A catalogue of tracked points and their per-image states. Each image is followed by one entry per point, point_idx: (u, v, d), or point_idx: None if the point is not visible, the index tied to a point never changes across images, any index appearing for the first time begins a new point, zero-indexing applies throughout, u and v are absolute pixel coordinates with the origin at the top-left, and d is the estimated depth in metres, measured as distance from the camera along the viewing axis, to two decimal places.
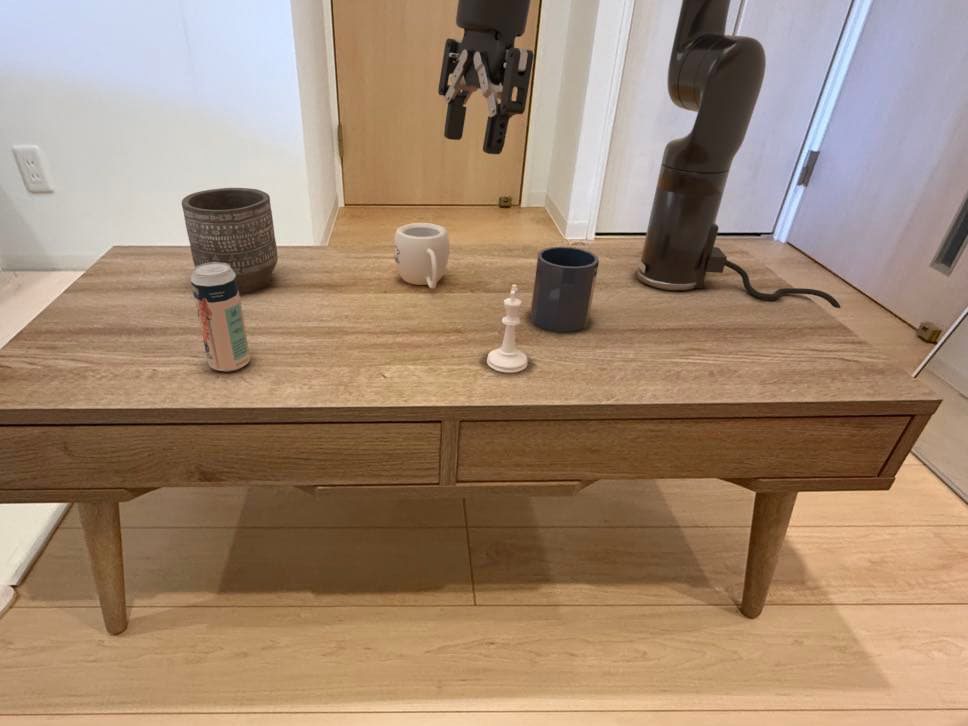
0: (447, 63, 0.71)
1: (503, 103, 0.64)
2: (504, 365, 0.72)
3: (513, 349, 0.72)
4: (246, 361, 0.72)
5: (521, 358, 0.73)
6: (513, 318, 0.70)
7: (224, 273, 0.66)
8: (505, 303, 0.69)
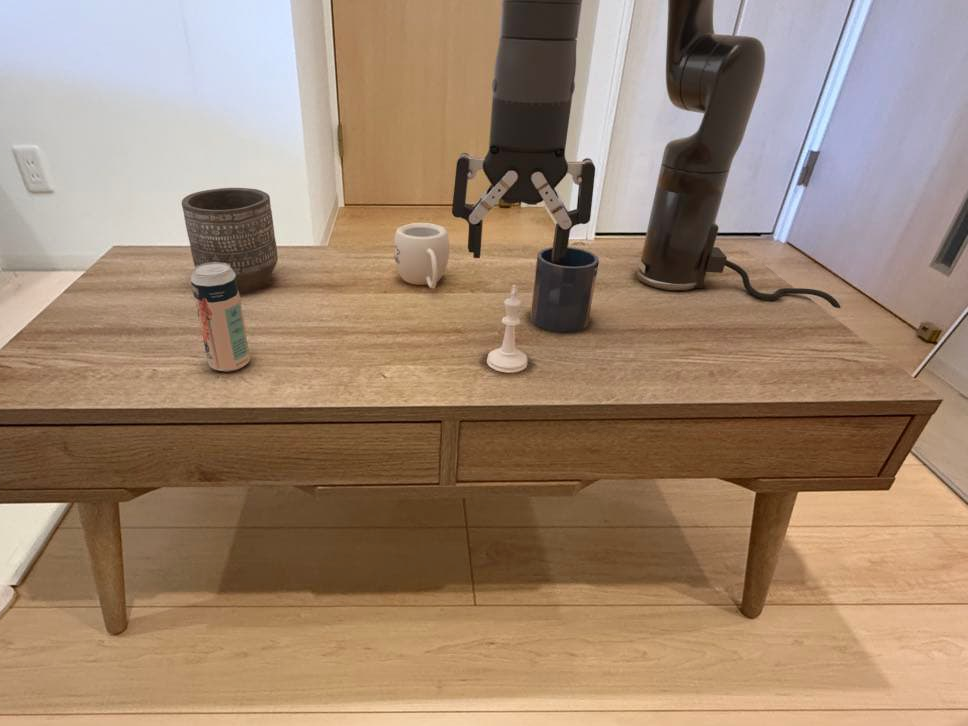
0: (466, 183, 0.62)
1: (584, 215, 0.62)
2: (504, 365, 0.72)
3: (513, 349, 0.72)
4: (246, 361, 0.72)
5: (521, 358, 0.73)
6: (513, 318, 0.70)
7: (224, 273, 0.66)
8: (505, 303, 0.69)
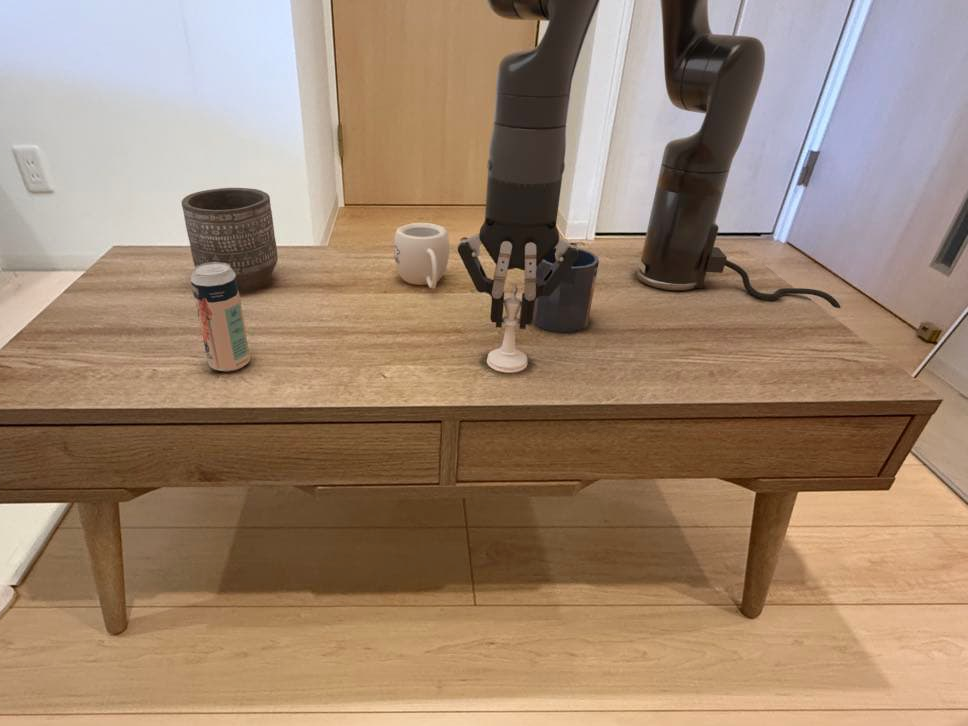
0: (475, 262, 0.66)
1: (548, 289, 0.67)
2: (504, 365, 0.72)
3: (513, 349, 0.72)
4: (246, 361, 0.72)
5: (521, 358, 0.73)
6: (513, 318, 0.70)
7: (224, 273, 0.66)
8: (505, 303, 0.69)
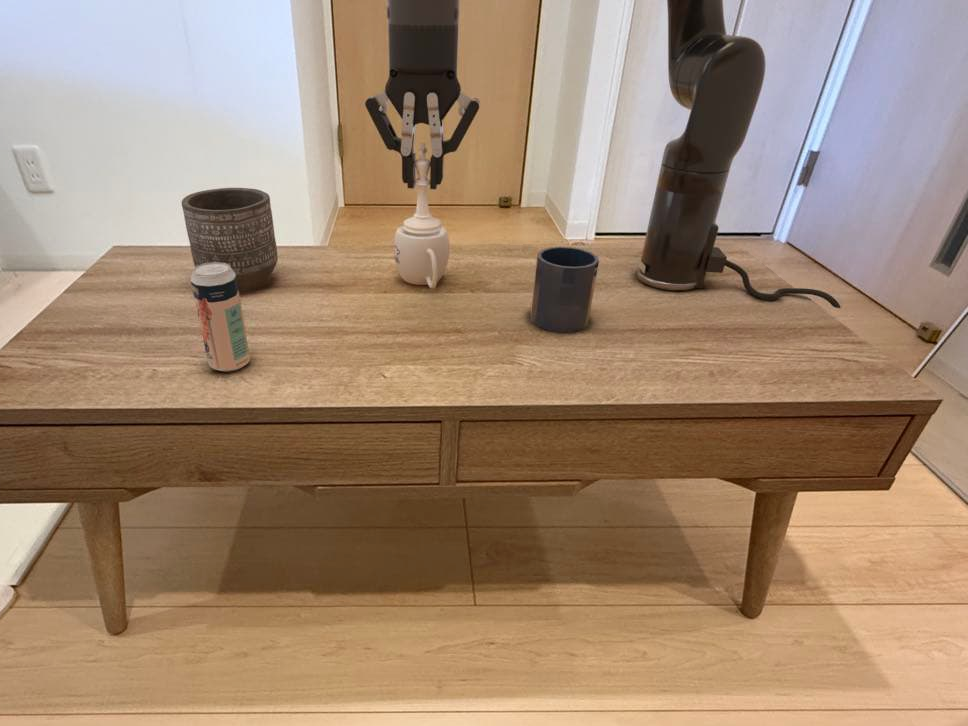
0: (382, 118, 0.70)
1: (453, 144, 0.70)
2: (417, 226, 0.75)
3: (426, 212, 0.76)
4: (246, 361, 0.72)
5: (435, 222, 0.76)
6: (424, 179, 0.74)
7: (224, 273, 0.66)
8: (415, 162, 0.73)
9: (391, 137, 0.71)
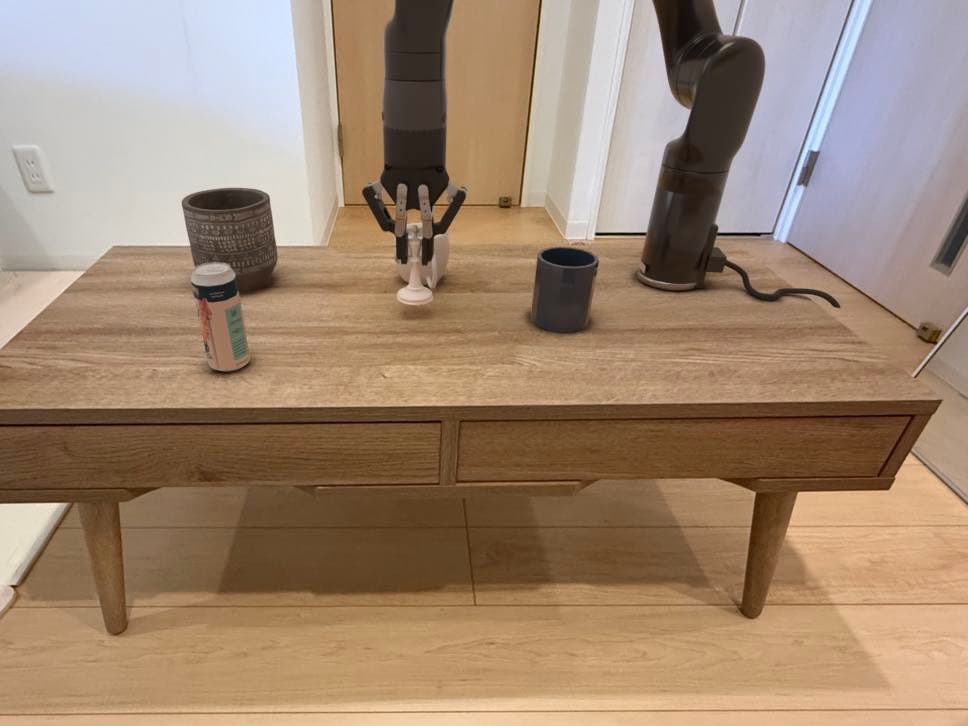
0: (378, 204, 0.76)
1: (442, 228, 0.77)
2: (410, 298, 0.82)
3: (418, 284, 0.82)
4: (246, 361, 0.72)
5: (426, 293, 0.83)
6: (416, 256, 0.80)
7: (224, 273, 0.66)
8: (408, 242, 0.79)
9: (386, 221, 0.77)
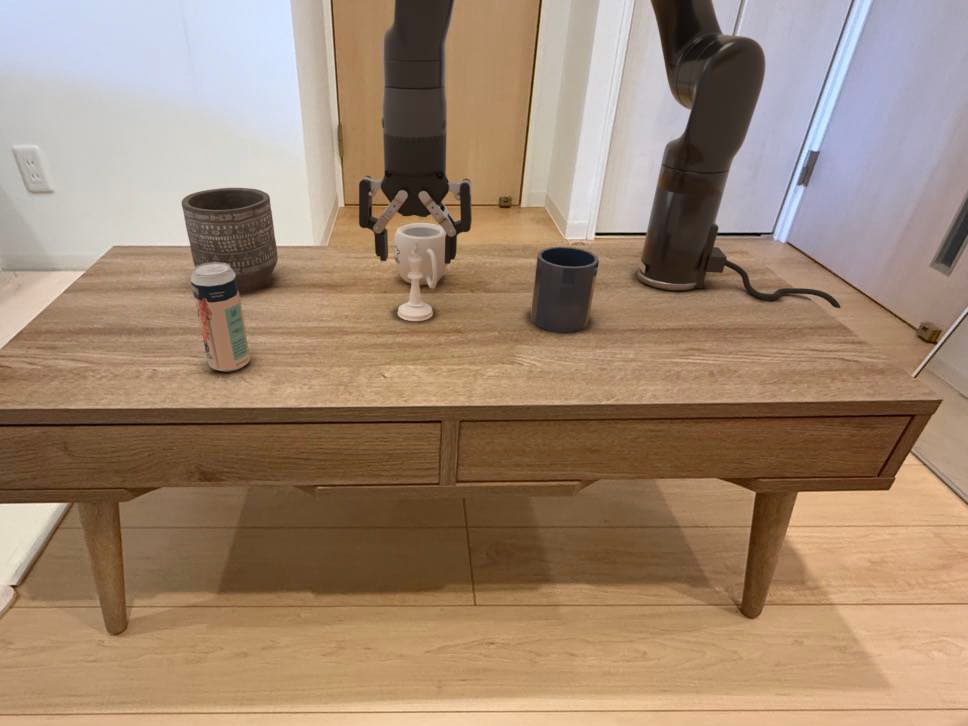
0: (368, 201, 0.76)
1: (465, 225, 0.76)
2: (410, 314, 0.83)
3: (418, 301, 0.84)
4: (246, 361, 0.72)
5: (426, 309, 0.84)
6: (416, 273, 0.82)
7: (224, 273, 0.66)
8: (408, 259, 0.81)
9: (367, 219, 0.77)
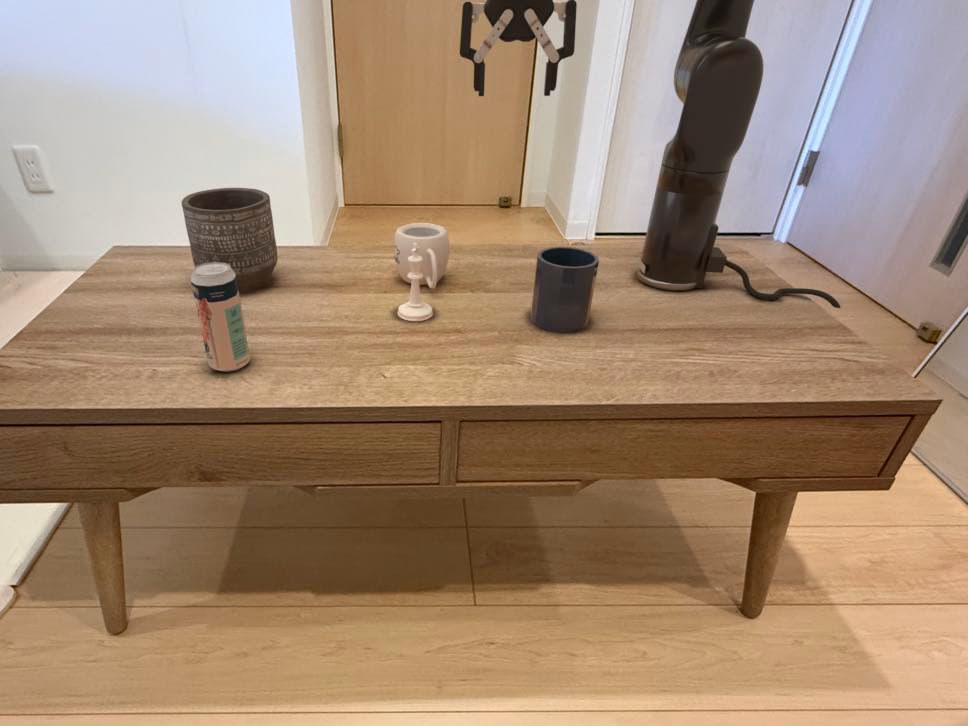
0: (470, 25, 0.75)
1: (569, 48, 0.75)
2: (410, 314, 0.83)
3: (418, 301, 0.84)
4: (246, 361, 0.72)
5: (426, 309, 0.84)
6: (416, 273, 0.82)
7: (224, 273, 0.66)
8: (408, 259, 0.81)
9: (468, 46, 0.76)
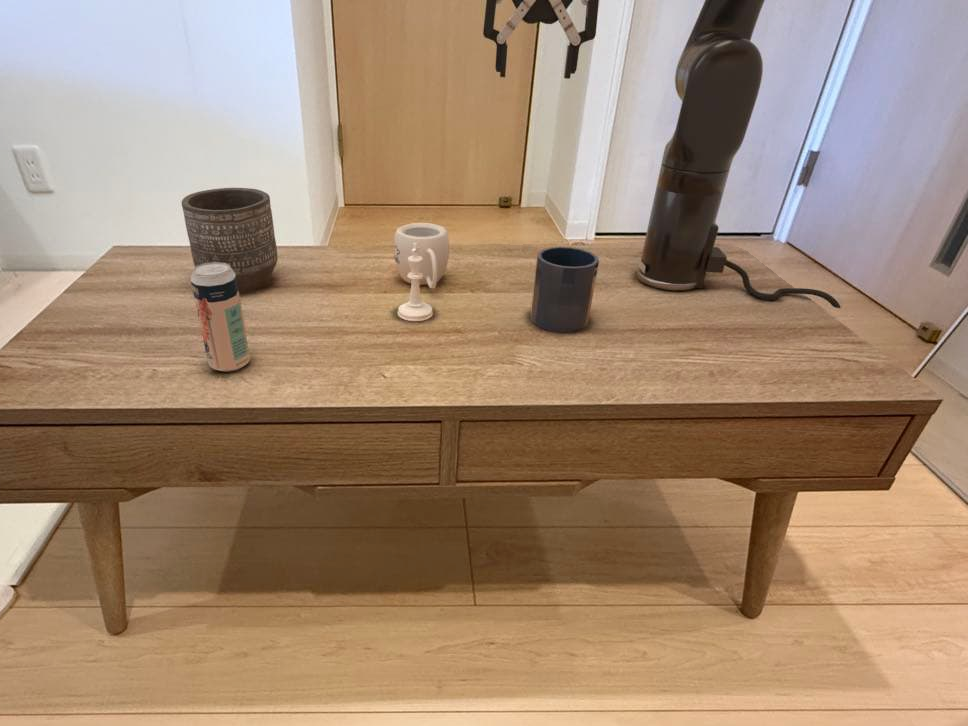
0: (495, 6, 0.77)
1: (591, 32, 0.77)
2: (410, 314, 0.83)
3: (418, 301, 0.84)
4: (246, 361, 0.72)
5: (426, 309, 0.84)
6: (416, 273, 0.81)
7: (224, 273, 0.66)
8: (408, 259, 0.81)
9: (492, 27, 0.78)
